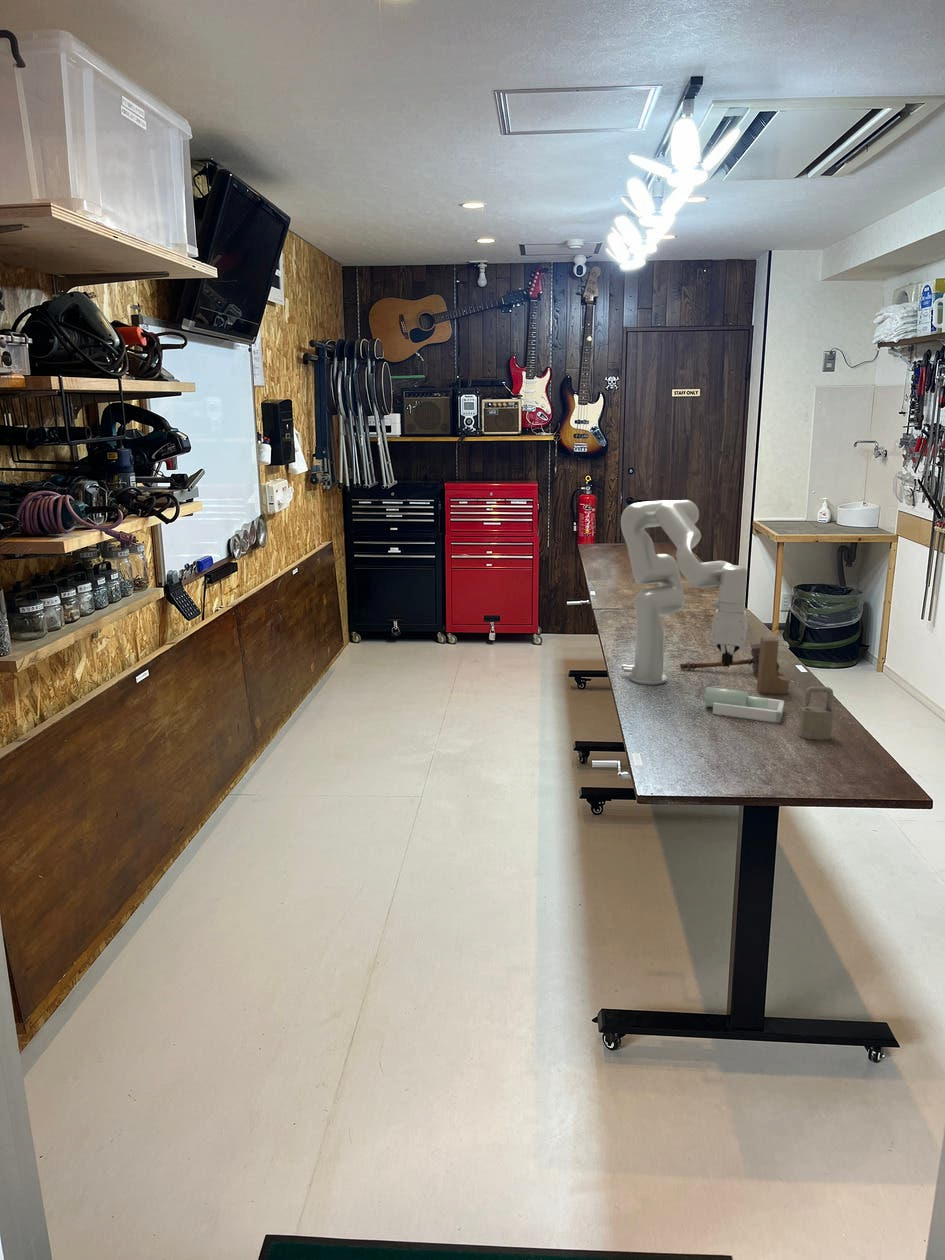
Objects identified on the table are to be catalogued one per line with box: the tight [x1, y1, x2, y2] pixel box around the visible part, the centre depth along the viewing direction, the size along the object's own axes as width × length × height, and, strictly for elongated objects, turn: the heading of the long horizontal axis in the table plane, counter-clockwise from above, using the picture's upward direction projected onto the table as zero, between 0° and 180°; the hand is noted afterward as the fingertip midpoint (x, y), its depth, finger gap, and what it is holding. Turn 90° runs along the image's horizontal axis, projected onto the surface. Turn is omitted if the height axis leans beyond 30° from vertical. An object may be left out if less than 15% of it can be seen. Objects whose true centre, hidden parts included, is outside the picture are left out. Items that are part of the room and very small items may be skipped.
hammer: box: [679, 643, 780, 677], centre depth 313 cm, size 7×33×10 cm, turn 79°
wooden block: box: [756, 636, 790, 695], centre depth 292 cm, size 9×4×18 cm, turn 91°
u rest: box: [712, 695, 785, 724], centre depth 275 cm, size 20×11×3 cm, turn 67°
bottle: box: [704, 686, 769, 709], centre depth 276 cm, size 6×6×18 cm
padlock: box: [798, 685, 834, 740], centre depth 254 cm, size 4×8×15 cm, turn 83°
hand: (726, 665), depth 274 cm, fingers closed
